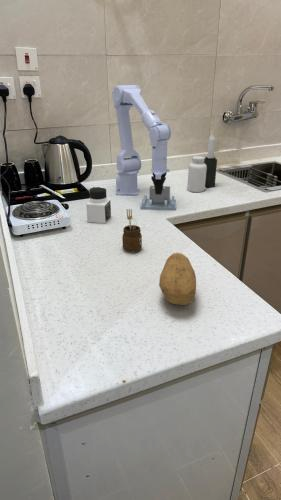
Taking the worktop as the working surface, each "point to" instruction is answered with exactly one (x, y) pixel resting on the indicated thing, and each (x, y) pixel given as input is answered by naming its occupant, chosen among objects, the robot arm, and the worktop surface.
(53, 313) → the worktop surface
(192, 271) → the potato
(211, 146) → the candle
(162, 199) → the block
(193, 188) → the pill bottle
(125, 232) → the utensil holder
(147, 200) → the tray
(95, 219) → the medicine bottle
